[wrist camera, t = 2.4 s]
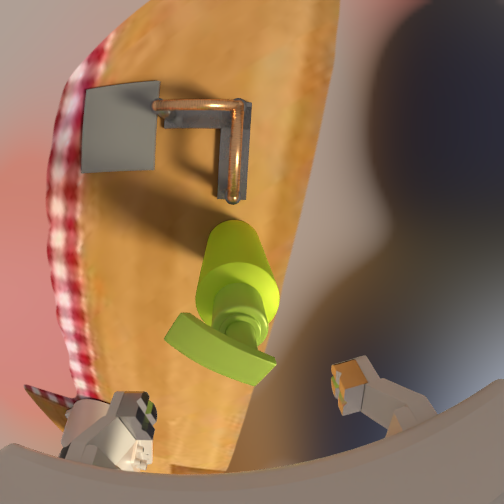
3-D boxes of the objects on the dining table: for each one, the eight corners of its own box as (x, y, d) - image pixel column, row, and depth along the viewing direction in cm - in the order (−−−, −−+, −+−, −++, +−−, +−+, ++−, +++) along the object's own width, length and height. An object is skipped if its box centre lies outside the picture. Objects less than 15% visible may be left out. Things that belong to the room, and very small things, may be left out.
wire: (245, 199, 30) (250, 209, 24) (161, 197, 29) (144, 207, 23) (251, 103, 27) (257, 89, 21) (165, 102, 26) (149, 89, 20)
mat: (154, 169, 28) (153, 169, 28) (83, 173, 27) (81, 173, 27) (160, 82, 25) (159, 80, 25) (88, 90, 24) (86, 89, 24)
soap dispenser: (218, 204, 30) (202, 283, 11) (269, 238, 32) (326, 350, 13) (189, 247, 31) (145, 370, 13) (240, 278, 33) (257, 417, 14)
